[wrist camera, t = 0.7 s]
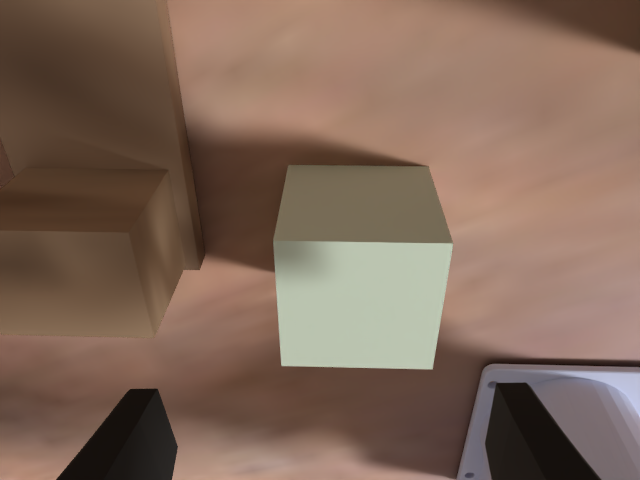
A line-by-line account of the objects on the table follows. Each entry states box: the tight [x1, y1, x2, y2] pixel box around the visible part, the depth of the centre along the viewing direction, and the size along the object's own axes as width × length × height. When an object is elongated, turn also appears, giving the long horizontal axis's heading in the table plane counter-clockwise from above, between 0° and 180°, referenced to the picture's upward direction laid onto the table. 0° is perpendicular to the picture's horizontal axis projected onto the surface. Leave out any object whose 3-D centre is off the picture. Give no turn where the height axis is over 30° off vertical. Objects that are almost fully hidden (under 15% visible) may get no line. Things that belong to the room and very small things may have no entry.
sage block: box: [273, 165, 453, 369], centre depth 18 cm, size 5×5×5 cm
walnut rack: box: [0, 0, 205, 338], centre depth 15 cm, size 15×6×5 cm, turn 0°
